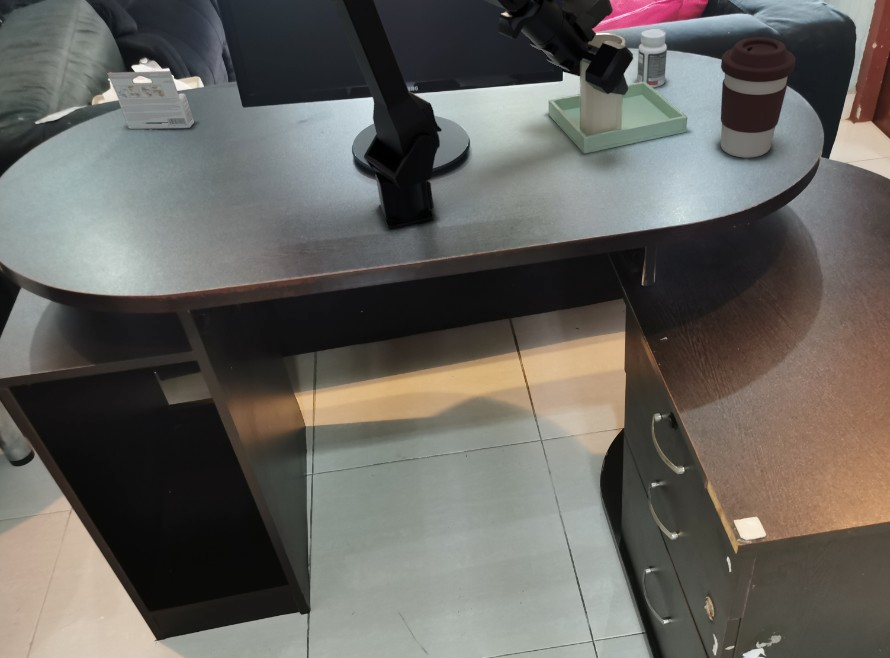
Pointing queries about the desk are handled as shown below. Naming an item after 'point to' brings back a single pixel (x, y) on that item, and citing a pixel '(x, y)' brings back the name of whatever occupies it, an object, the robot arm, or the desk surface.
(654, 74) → the pill bottle
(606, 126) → the tumbler
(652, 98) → the tray
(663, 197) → the desk surface
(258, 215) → the desk surface
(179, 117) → the ink cartridge box
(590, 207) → the desk surface
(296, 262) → the desk surface
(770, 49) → the coffee cup
